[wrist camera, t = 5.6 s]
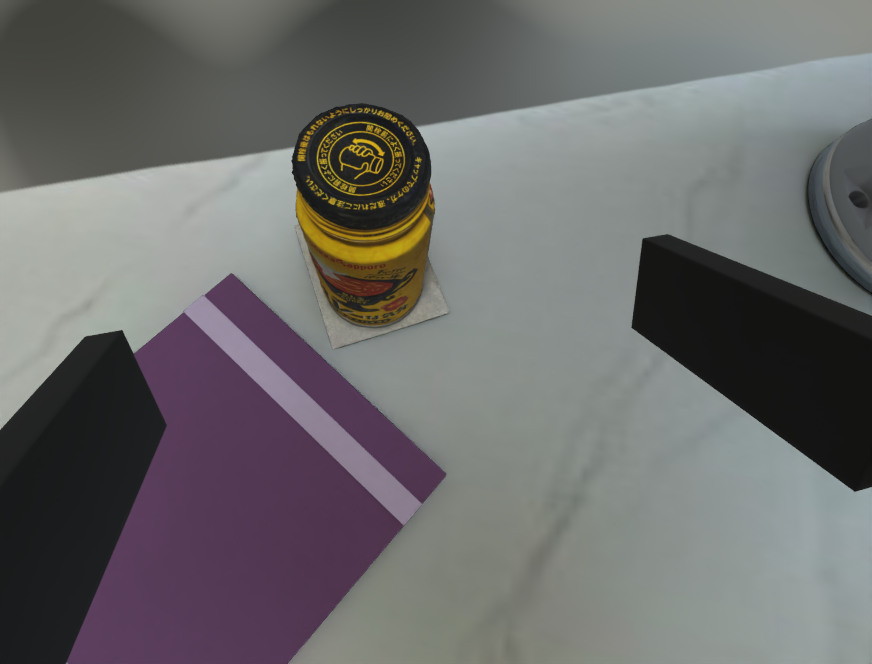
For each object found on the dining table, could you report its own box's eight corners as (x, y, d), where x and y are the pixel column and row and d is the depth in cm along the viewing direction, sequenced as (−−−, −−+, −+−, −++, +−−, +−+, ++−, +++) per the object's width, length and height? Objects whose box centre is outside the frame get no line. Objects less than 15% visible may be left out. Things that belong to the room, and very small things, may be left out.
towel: (234, 276, 28) (230, 272, 27) (445, 474, 26) (447, 474, 25) (-118, 570, 22) (-134, 573, 21) (118, 862, 20) (109, 875, 19)
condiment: (333, 350, 27) (293, 257, 16) (294, 226, 29) (235, 66, 18) (449, 314, 29) (490, 204, 17) (405, 198, 31) (414, 33, 19)
